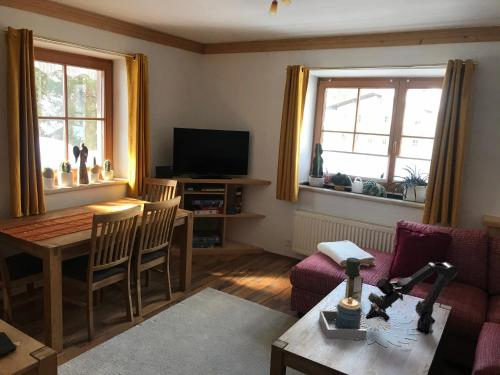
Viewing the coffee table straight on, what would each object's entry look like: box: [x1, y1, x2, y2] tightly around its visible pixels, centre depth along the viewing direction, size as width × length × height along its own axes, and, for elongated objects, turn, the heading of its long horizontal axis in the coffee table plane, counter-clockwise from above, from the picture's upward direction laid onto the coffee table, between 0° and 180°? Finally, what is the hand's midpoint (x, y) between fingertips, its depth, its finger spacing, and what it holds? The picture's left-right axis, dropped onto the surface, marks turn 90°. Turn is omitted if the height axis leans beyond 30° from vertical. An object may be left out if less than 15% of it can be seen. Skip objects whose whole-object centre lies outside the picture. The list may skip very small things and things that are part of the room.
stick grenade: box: [344, 257, 361, 298], centre depth 234 cm, size 8×9×30 cm
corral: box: [318, 309, 368, 340], centre depth 212 cm, size 20×20×5 cm
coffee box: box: [344, 275, 364, 304], centre depth 246 cm, size 9×6×16 cm
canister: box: [334, 297, 363, 329], centre depth 212 cm, size 13×13×18 cm
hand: (366, 318), depth 212 cm, fingers closed
